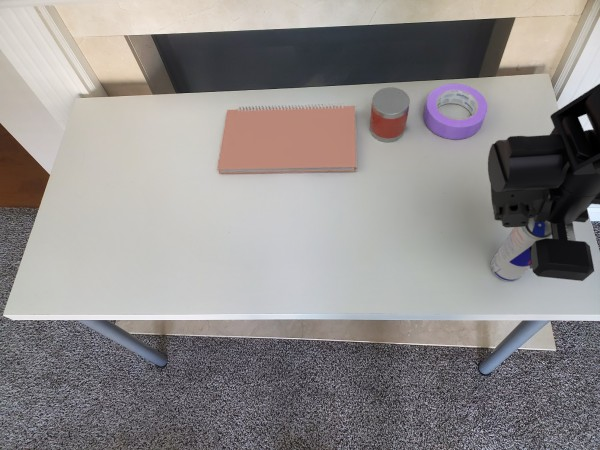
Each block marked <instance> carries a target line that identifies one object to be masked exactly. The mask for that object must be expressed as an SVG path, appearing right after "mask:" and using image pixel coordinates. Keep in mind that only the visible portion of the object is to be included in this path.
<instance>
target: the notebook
mask: <svg viewBox="0 0 600 450" xmlns="http://www.w3.org/2000/svg"><path fill="white" fill-rule="evenodd" d="M337 104H338V105H337ZM310 105H311V106H310ZM225 115H226V116H225V122H224V127H223V134H222V139H221V145H220V151H219V158H218V164H217V171H218V174H219V175H229V174H231V175H233V174H287V173H288V174H289V173H290V174H291V173H295V174H296V173H297V174H298V173H346V172H347V173H348V172H349V173H350V172H351V173H352V172H355V173H356V172H357V167H358V165H357V163H358V162H357V161H358V160H357V128H356V127H357V124H356V123H357V121H356V106H355V105H344V103H341V104H340V103H331V106H330V103H328V104H326V103H325V104H323V103H322V104H321V105H320V104H304V105H303V104H298V105H296V104H295V105H293V104H291V105H289V104H288V105H287V104H285V105H284V106H283V105H282V104H281V105H271V106H270V105H268V106H266V105H265V106H260V105H259V106H253V105H252V106H245V107H244V106H238V108H237V109H227V110H226V114H225Z"/></svg>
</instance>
